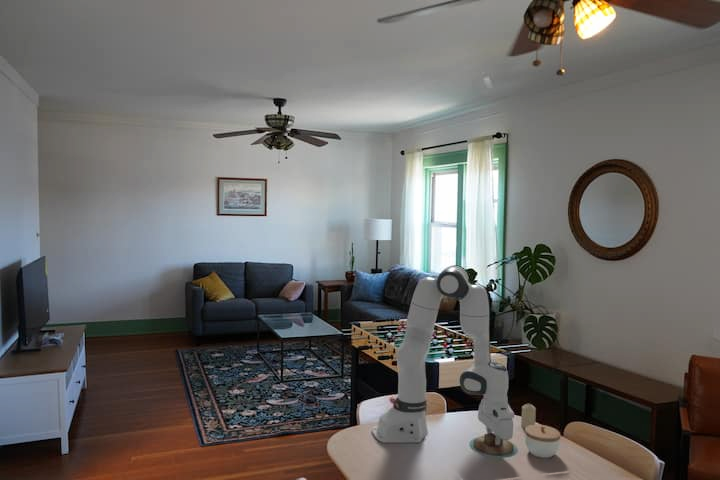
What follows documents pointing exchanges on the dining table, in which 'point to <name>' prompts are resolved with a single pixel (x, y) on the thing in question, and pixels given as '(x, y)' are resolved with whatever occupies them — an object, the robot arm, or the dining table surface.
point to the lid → (492, 445)
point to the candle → (528, 415)
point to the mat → (493, 455)
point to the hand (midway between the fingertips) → (493, 441)
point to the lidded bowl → (542, 440)
